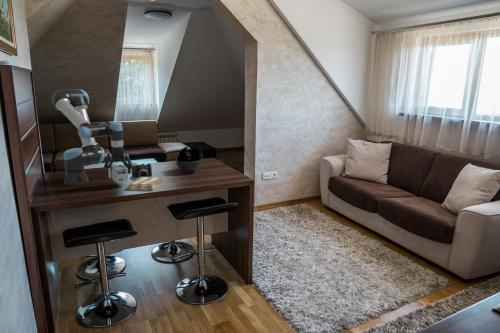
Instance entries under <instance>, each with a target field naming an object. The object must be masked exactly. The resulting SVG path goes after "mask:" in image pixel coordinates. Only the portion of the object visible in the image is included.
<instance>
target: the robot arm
mask: <svg viewBox="0 0 500 333" xmlns="http://www.w3.org/2000/svg"><path fill="white" fill-rule="evenodd" d="M51 100H52V104H53V106H54V108H55V109H56V110H58V111H60V112H61V113H62V114H63V115H64V117H66V118H67V119H68V120H69V121H70V123H71V124H72V125H74V126H75V128H76V129H77V133H78V137H79V138H80V141H81V144H82V145H81V147H73V148H70V149H67V150H65V151H64V152H63V163H64V170H65V175H64V178H63V185H64V184H65V186H67V185H70V186H69V187H74V186H75V187H77V186H82V185H85V184H88V183H89V178H88V175H87V173H86V171H85V167H87V166H93V165H98V164H100V163H102V162H103V161H104V160H105V161H104V166H103V167H104V168H106V171H107V173H108V179H112V169H111V165H112V164H114V162H115V161H120V162H122V163H123V165H124V166H126V168H127V180H129V179H130V178H131V175H132V172H131V169H132V168H133V165H134V164H133V163H132V160H131V159H130V154H129V153H127V154H125V149H124V132H123V131H124V128H123V124H122V122H116V121H115V122H110V123H101V124H96V125H92V124H91V122H90V118H89V115H88V112H87V110H88V107H89V104H90V96H89V94H88V92H86V91H85V90H83V89H82V88H81V89H79V88H75V89H73V88H72V89H71V88H70V89H67V88H66V89H64V88H63V89H62V88H61V89H58V90H56V91H55V92H54V93H53V95H52V97H51ZM100 137H110V145H111V147H110V148H111V153H110V152H109V153H107V154H106V156H105V149H104V148H103V147H102V146H100V145H99V143H98V142H96V139H95V138H100ZM105 157H106V159H105ZM111 157H112V159H111ZM110 159H111V160H110Z"/></svg>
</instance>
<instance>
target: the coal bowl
mask: <svg viewBox="0 0 500 333" xmlns="http://www.w3.org/2000/svg"><path fill="white" fill-rule="evenodd" d="M187 153H189V155H190V156H188V154H187ZM202 162H203V160H202V157H201V156H200V150H198V149H197V148H189V147H188V146H185V147H184V148H183V147H182V148H181V150H180V152H179V154H178V155H177V158H176V159H175V164H176V165H177V167H178V169H179V170H180V171H182V172H185V173H191V172H194V171H197V170H198V169H199V168H200V167H201V164H202Z"/></svg>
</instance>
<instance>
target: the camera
mask: <svg viewBox="0 0 500 333" xmlns="http://www.w3.org/2000/svg"><path fill="white" fill-rule="evenodd" d="M132 165H133V168H132V169H131V178H132V179H138V178H139V177H153V171H152V170H153V169H152V163H149V162H148V163H146V164H145V163H140V164H137V163H136V164H132Z"/></svg>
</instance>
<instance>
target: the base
mask: <svg viewBox="0 0 500 333" xmlns="http://www.w3.org/2000/svg"><path fill="white" fill-rule="evenodd" d="M162 183H163V179H162V177H157V176H156V177H154V176H151V177H139V178H135V179H134V180H133V181H132V182H130V183H129V184H128V185H127V186H128V191H148V192H149V191H151V192H153V191H154V190H155V189H157V187H159V186H160V185H162Z"/></svg>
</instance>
